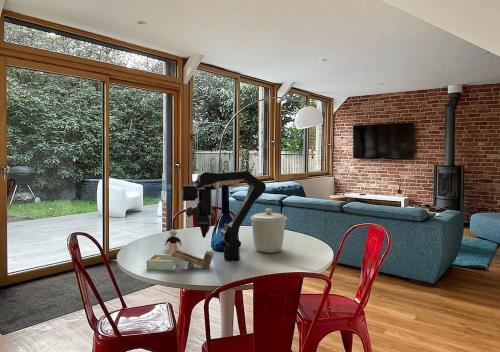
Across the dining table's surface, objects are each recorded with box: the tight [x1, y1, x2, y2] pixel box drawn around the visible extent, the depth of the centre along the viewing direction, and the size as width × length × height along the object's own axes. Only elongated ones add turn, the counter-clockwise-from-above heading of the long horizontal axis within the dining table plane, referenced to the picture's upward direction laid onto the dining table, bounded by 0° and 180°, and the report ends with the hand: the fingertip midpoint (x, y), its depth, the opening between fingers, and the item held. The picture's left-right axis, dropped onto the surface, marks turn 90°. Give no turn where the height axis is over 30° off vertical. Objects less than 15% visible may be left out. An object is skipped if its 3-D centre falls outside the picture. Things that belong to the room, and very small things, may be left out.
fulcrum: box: [182, 262, 198, 271], centre depth 157 cm, size 5×6×2 cm
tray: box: [146, 253, 180, 271], centre depth 158 cm, size 11×9×4 cm
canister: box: [250, 207, 288, 254], centre depth 184 cm, size 18×18×21 cm
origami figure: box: [163, 241, 182, 253], centre depth 186 cm, size 12×8×5 cm
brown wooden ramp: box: [172, 249, 215, 270], centre depth 157 cm, size 16×5×6 cm, turn 86°
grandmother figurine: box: [164, 229, 183, 255], centre depth 174 cm, size 8×4×13 cm, turn 105°
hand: (205, 235), depth 165 cm, fingers open, 9 cm apart
